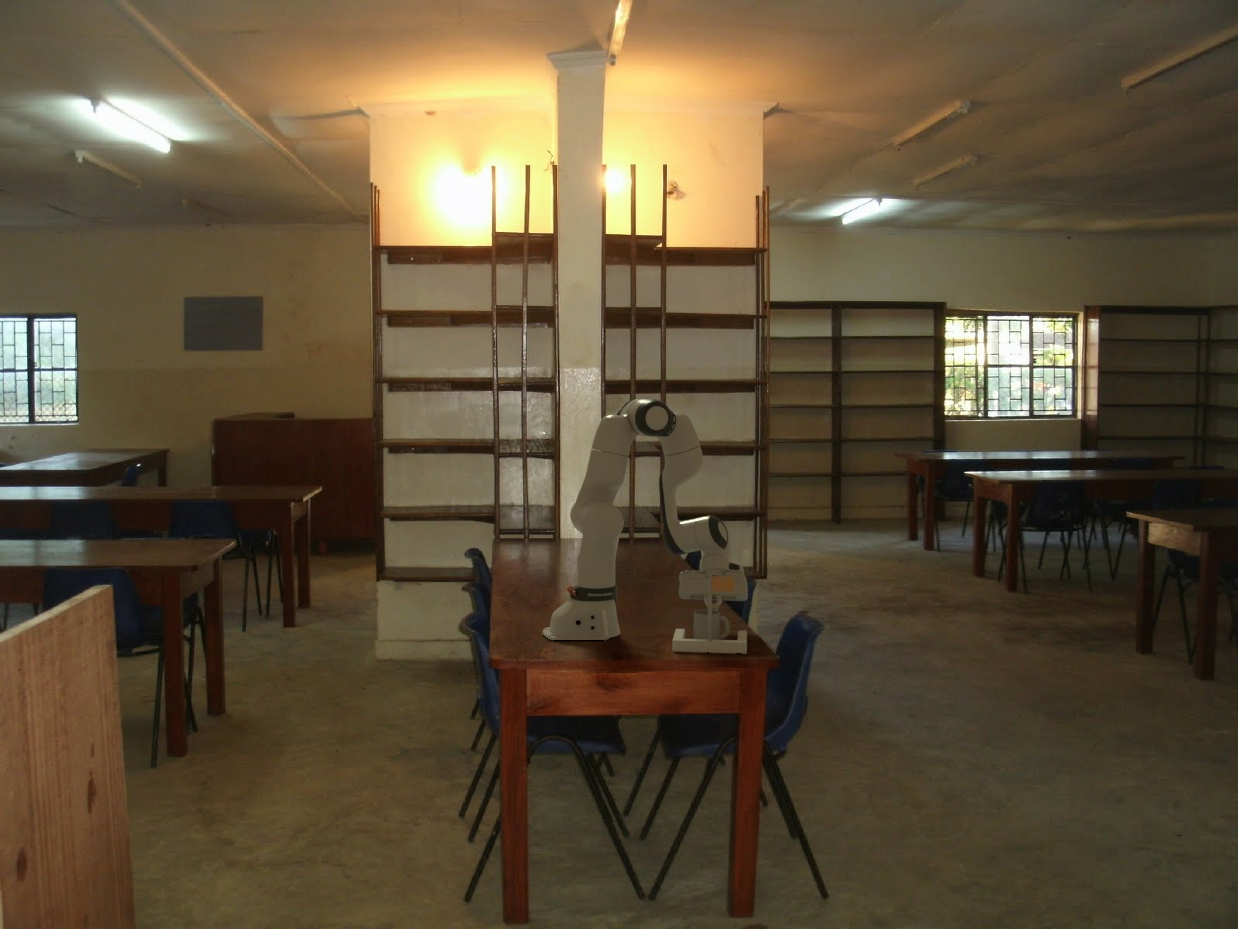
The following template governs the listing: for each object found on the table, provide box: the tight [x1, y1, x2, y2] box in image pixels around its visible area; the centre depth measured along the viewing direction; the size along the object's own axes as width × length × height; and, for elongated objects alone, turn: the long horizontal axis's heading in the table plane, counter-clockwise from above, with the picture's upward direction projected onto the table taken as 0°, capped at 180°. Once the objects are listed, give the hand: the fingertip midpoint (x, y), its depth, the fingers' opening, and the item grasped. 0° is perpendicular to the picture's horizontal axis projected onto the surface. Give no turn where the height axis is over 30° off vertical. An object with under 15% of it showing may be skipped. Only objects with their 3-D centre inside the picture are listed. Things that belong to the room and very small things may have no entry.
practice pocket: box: [671, 574, 748, 655], centre depth 297 cm, size 14×20×21 cm
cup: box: [693, 609, 730, 640], centre depth 301 cm, size 7×10×9 cm
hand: (712, 610), depth 313 cm, fingers closed
